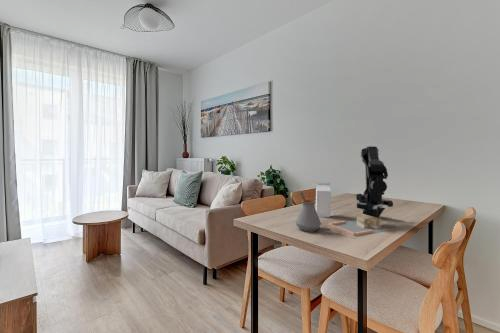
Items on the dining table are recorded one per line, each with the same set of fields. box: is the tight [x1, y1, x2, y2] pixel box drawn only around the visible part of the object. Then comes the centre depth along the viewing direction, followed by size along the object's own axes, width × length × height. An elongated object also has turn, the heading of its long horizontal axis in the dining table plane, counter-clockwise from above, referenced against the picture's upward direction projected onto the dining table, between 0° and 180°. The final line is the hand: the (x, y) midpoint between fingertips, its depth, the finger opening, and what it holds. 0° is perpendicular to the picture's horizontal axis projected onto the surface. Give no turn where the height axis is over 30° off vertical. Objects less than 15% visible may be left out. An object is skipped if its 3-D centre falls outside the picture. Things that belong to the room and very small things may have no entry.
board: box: [325, 219, 389, 239], centre depth 113 cm, size 21×18×2 cm
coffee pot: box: [295, 191, 322, 232], centre depth 118 cm, size 21×12×15 cm, turn 2°
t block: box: [356, 213, 383, 229], centre depth 115 cm, size 8×10×4 cm
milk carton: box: [315, 181, 332, 219], centre depth 135 cm, size 7×7×19 cm
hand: (374, 222), depth 118 cm, fingers closed
